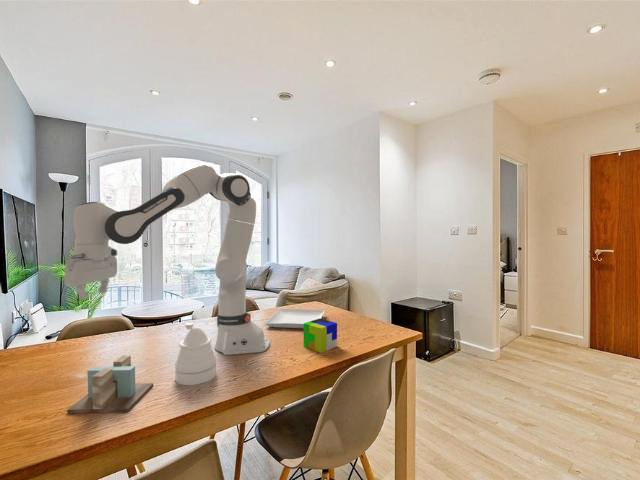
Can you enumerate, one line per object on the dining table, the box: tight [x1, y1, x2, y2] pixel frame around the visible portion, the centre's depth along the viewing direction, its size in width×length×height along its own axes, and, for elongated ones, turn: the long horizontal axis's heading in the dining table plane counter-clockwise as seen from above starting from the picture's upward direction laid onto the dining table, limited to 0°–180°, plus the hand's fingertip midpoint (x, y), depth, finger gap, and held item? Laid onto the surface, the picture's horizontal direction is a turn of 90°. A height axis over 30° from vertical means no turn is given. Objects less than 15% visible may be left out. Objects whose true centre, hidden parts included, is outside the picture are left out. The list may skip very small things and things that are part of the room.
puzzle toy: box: [303, 318, 338, 354], centre depth 134 cm, size 10×10×10 cm
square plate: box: [264, 308, 326, 330], centre depth 169 cm, size 27×27×4 cm
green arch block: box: [87, 365, 136, 398], centre depth 93 cm, size 12×2×8 cm, turn 92°
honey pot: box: [174, 322, 217, 386], centre depth 107 cm, size 13×13×18 cm
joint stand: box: [66, 354, 154, 414], centre depth 93 cm, size 16×14×10 cm
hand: (93, 295), depth 102 cm, fingers open, 8 cm apart
